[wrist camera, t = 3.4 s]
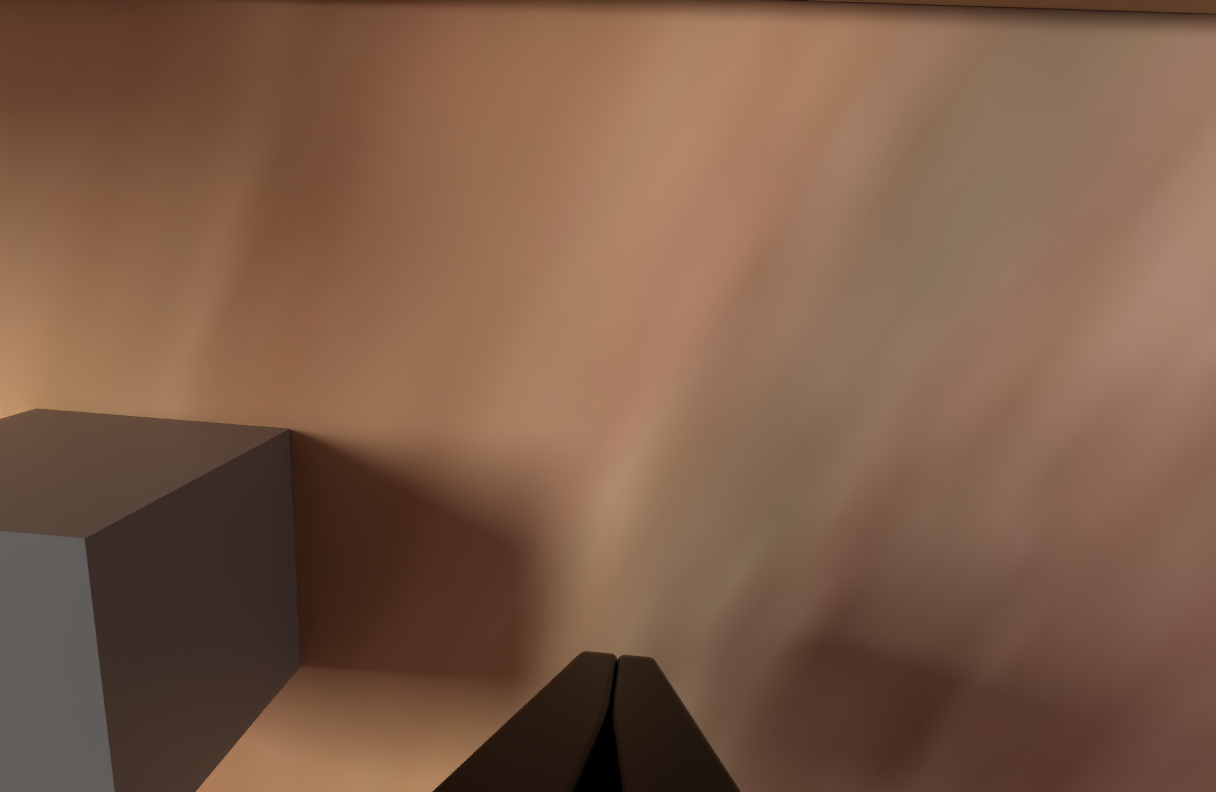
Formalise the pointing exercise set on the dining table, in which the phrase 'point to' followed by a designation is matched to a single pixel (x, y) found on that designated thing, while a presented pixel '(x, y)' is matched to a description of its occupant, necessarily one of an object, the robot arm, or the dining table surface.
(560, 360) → the dining table surface
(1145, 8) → the board
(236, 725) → the plain grey cube
